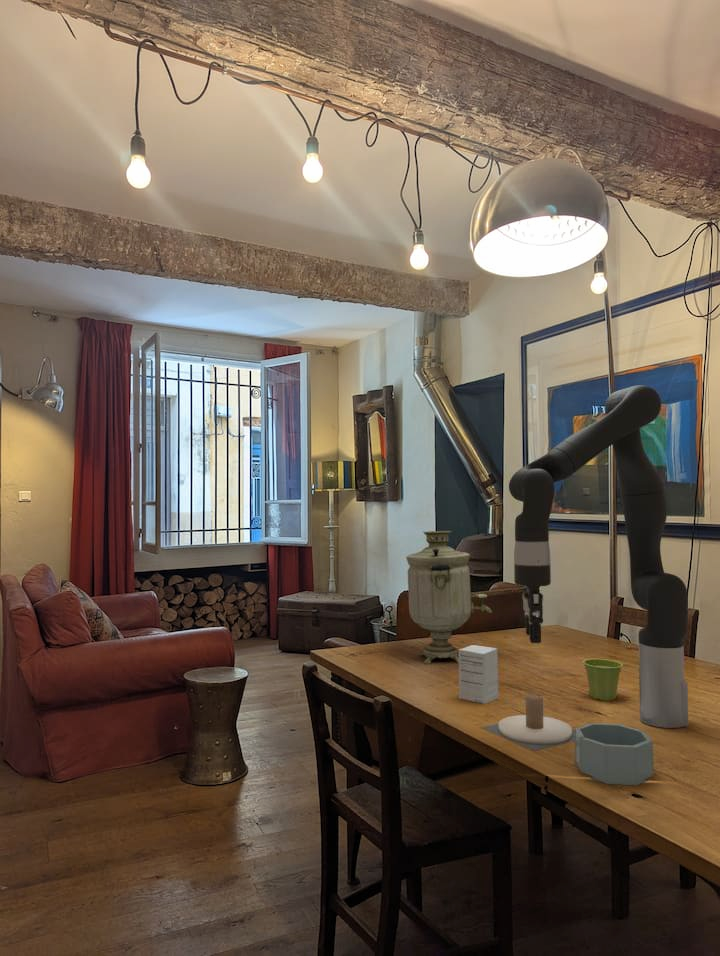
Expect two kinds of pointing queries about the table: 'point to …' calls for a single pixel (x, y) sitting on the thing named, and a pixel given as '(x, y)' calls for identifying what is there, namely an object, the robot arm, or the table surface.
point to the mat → (533, 747)
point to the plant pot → (602, 678)
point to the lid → (535, 725)
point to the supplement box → (478, 674)
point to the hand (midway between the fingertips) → (533, 638)
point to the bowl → (614, 753)
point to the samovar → (440, 593)
